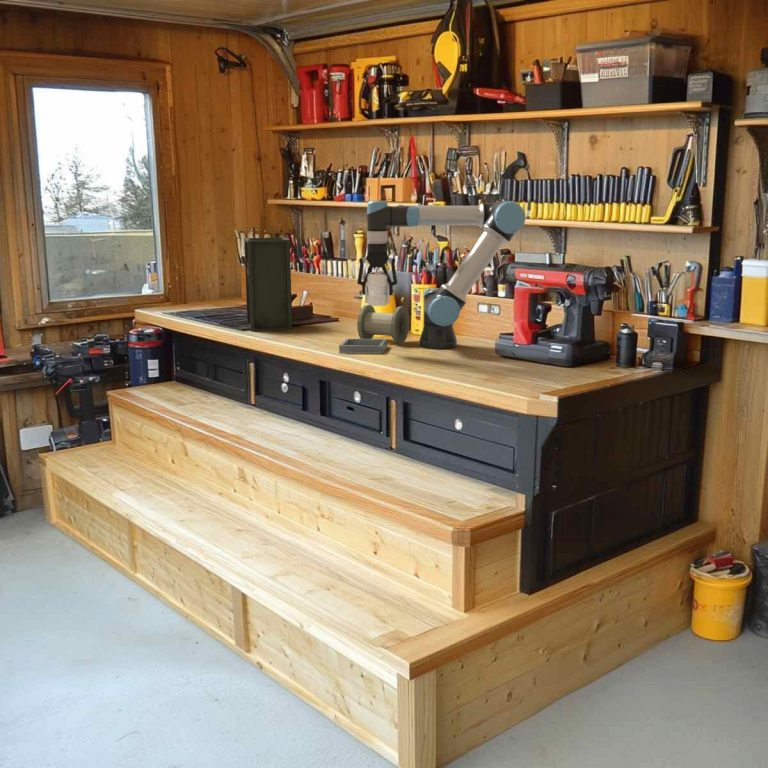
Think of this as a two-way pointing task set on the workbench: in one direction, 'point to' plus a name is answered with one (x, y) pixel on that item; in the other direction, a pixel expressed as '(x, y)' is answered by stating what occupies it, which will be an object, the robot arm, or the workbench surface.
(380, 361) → the workbench surface
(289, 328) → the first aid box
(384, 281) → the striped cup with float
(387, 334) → the spool
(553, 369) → the workbench surface
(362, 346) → the tray
